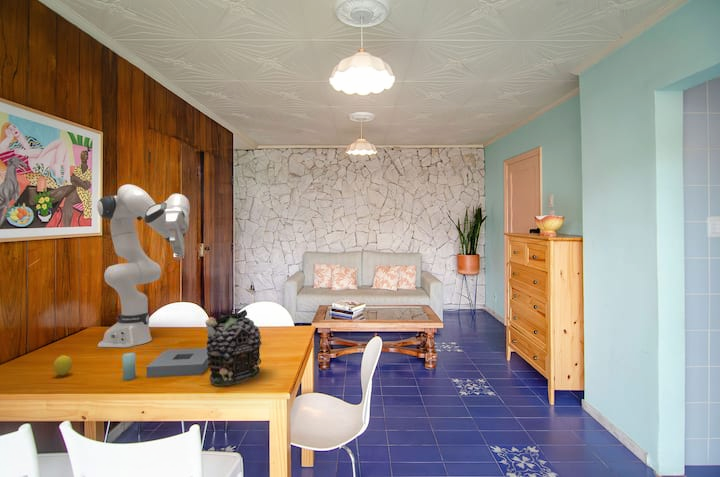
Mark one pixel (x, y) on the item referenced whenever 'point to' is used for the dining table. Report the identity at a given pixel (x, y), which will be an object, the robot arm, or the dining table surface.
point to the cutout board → (179, 363)
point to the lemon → (62, 365)
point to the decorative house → (233, 348)
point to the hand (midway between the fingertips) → (174, 249)
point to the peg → (129, 366)
